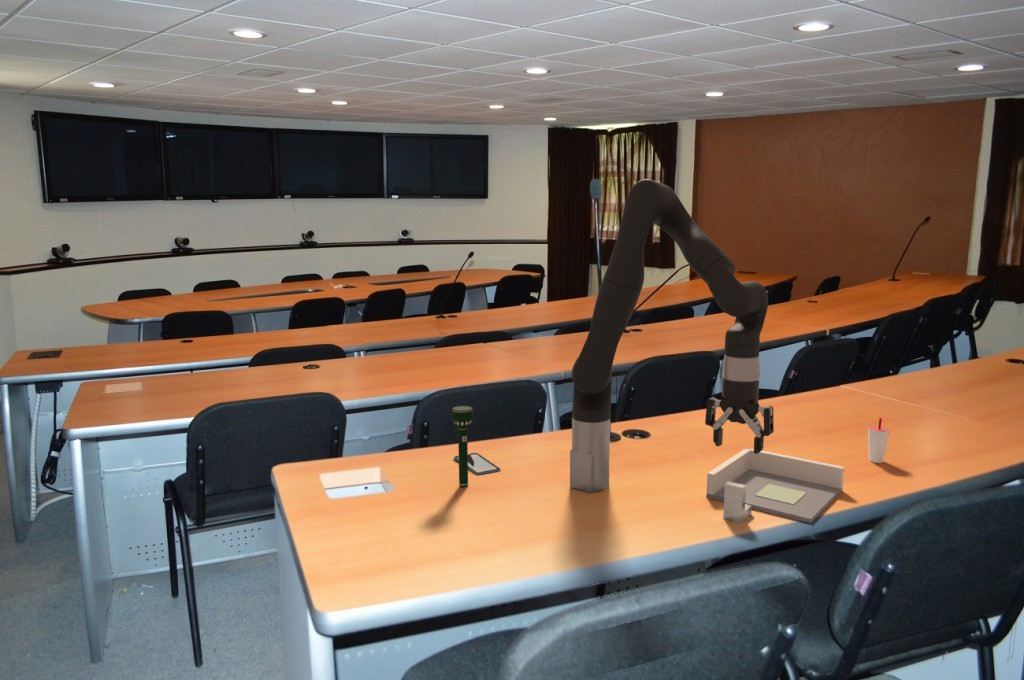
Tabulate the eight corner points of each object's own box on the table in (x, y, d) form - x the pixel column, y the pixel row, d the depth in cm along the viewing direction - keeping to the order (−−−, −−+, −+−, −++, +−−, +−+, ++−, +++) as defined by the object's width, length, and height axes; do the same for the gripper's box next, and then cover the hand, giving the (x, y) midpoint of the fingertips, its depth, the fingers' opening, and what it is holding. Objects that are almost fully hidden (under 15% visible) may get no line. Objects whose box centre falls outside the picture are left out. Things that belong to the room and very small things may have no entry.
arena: (810, 523, 163) (812, 497, 162) (706, 497, 177) (707, 473, 176) (842, 490, 181) (844, 466, 180) (745, 469, 196) (746, 447, 195)
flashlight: (457, 491, 182) (455, 411, 178) (450, 484, 186) (448, 406, 183) (477, 488, 184) (475, 409, 180) (469, 481, 188) (468, 404, 185)
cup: (889, 464, 199) (893, 421, 197) (867, 463, 200) (871, 419, 198) (884, 458, 204) (887, 415, 202) (862, 457, 205) (866, 414, 203)
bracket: (740, 522, 163) (742, 488, 162) (723, 518, 166) (724, 483, 164) (751, 514, 168) (753, 480, 166) (734, 509, 170) (735, 476, 169)
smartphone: (476, 474, 192) (452, 456, 205) (476, 478, 193) (452, 459, 206) (502, 469, 196) (476, 452, 209) (502, 472, 196) (476, 455, 209)
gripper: (701, 374, 161) (699, 447, 164) (767, 383, 152) (764, 460, 155) (716, 368, 167) (713, 439, 170) (780, 377, 158) (776, 450, 161)
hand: (737, 449), depth 162 cm, fingers open, 8 cm apart
